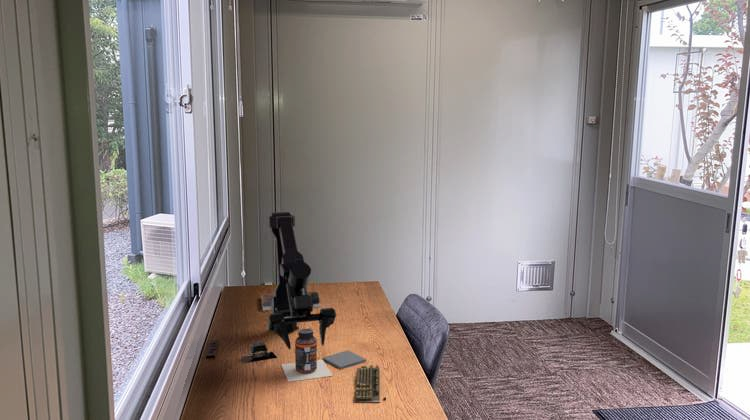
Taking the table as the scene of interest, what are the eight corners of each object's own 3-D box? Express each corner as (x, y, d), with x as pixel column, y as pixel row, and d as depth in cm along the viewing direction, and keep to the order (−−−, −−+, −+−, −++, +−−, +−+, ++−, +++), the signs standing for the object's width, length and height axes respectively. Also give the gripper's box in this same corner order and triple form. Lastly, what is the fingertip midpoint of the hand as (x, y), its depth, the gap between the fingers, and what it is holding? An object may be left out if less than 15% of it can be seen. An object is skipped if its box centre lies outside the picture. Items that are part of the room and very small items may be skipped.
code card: (281, 365, 173) (281, 364, 173) (322, 359, 177) (322, 359, 177) (288, 381, 162) (288, 381, 162) (332, 376, 165) (332, 375, 165)
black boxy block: (276, 351, 185) (275, 337, 184) (283, 360, 178) (282, 345, 177) (235, 358, 179) (234, 343, 179) (240, 367, 173) (240, 351, 172)
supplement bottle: (313, 375, 166) (312, 335, 164) (292, 373, 167) (291, 333, 165) (319, 366, 171) (319, 327, 170) (299, 364, 173) (298, 326, 171)
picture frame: (262, 312, 223) (321, 308, 227) (262, 306, 222) (321, 302, 227) (261, 299, 239) (316, 296, 243) (261, 293, 238) (316, 290, 243)
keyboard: (355, 369, 171) (355, 363, 171) (387, 370, 171) (387, 363, 171) (351, 405, 150) (351, 397, 149) (388, 405, 150) (388, 397, 149)
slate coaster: (322, 359, 177) (322, 357, 177) (347, 352, 183) (347, 350, 182) (340, 369, 170) (340, 367, 170) (366, 361, 176) (366, 359, 176)
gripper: (268, 285, 167) (275, 337, 158) (334, 280, 173) (344, 329, 164) (264, 305, 176) (271, 355, 167) (327, 299, 181) (337, 347, 172)
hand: (306, 346), depth 167 cm, fingers open, 9 cm apart
